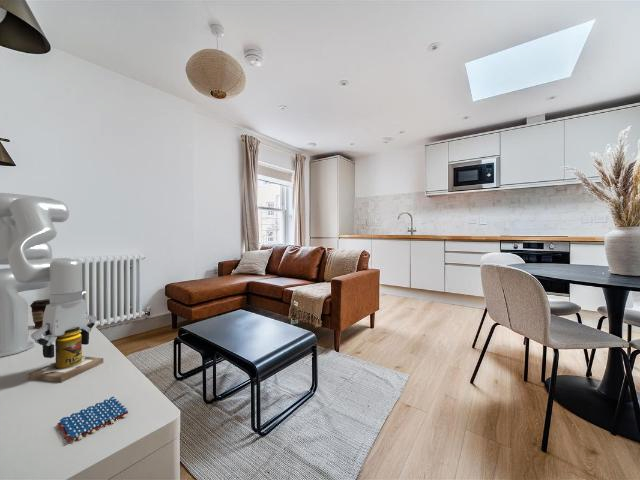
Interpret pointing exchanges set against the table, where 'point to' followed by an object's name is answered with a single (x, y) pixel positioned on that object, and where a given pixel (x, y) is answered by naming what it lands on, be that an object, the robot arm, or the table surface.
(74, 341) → the condiment
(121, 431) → the table surface
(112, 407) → the woven mat
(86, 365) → the picture frame
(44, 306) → the coffee cup
